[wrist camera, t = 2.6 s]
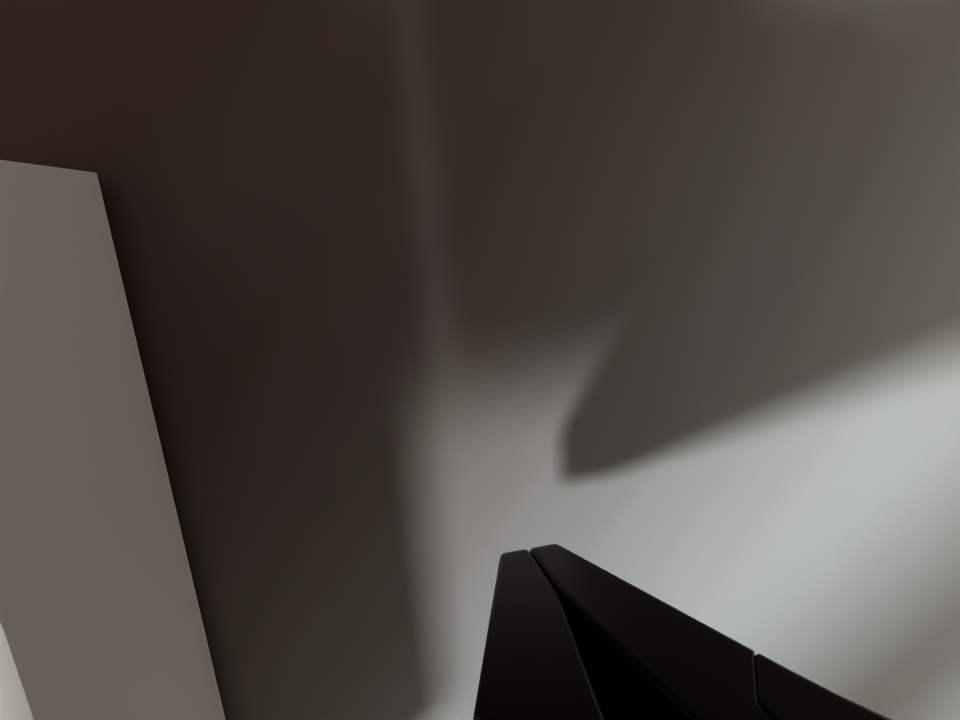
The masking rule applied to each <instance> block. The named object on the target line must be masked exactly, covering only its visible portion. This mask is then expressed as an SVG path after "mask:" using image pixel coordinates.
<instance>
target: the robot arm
mask: <svg viewBox="0 0 960 720" xmlns="http://www.w3.org/2000/svg"><path fill="white" fill-rule="evenodd" d="M473 719H474V720H891V719H888V718H886V717H884V716H882V715H880V714H878V713H876V712H874V711H872V710H869V709H867V708H865V707H863V706H861V705H859V704H857V703H855V702H852V701H850V700H848V699H846V698H844V697H842V696H840V695H838V694H836V693H833V692H831V691H829V690H828V689H826V688H824V687H822V686H820V685H818V684H816V683H814V682H812V681H810V680H808V679H806V678H804V677H802V676H800V675H798V674H797V673H795V672H793V671H791V670H789V669H787V668H785V667H783V666H781V665H780V664H778V663H776V662H774V661H772V660H770V659H768V658H767V657H765V656H763V655H761V654H756V656H755V653H754V651H753V650H751V649H750V648H748V647H746V646H744V645H742V644H740V643H739V642H737V641H735V640H733V639H731V638H729V637H727V636H726V635H724V634H722V633H720V632H718V631H716V630H715V629H713V628H711V627H709V626H707V625H705V624H703V623H702V622H700V621H698V620H696V619H694V618H692V617H691V616H689V615H687V614H685V613H683V612H681V611H679V610H678V609H676V608H674V607H672V606H670V605H668V604H667V603H665V602H663V601H661V600H659V599H657V598H655V597H654V596H652V595H650V594H648V593H646V592H644V591H643V590H641V589H639V588H637V587H635V586H633V585H632V584H630V583H628V582H626V581H624V580H622V579H620V578H619V577H617V576H615V575H613V574H611V573H609V572H608V571H606V570H604V569H602V568H600V567H598V566H596V565H595V564H593V563H591V562H589V561H587V560H585V559H584V558H582V557H580V556H578V555H576V554H574V553H572V552H571V551H569V550H567V549H565V548H563V547H561V546H559V545H557V544H551V545H546V546H540V547H535V548H532V549H531V550H530V552H529V551H528V550H519V551H513V552H508V553H503V554H502V555H501V557H500V561H499V567H498V573H497V579H496V585H495V591H494V597H493V603H492V609H491V615H490V621H489V627H488V633H487V639H486V645H485V651H484V657H483V663H482V669H481V675H480V681H479V687H478V693H477V699H476V705H475V711H474V717H473Z"/></svg>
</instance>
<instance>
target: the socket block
mask: <svg viewBox="0 0 960 720" xmlns="http://www.w3.org/2000/svg"><path fill="white" fill-rule="evenodd" d="M0 720H226V719H225V715H224V711H223V707H222V702H221V698H220V694H219V690H218V685H217V681H216V677H215V673H214V668H213V664H212V660H211V656H210V651H209V647H208V643H207V639H206V634H205V630H204V626H203V622H202V617H201V613H200V609H199V605H198V600H197V596H196V592H195V588H194V583H193V579H192V575H191V571H190V566H189V562H188V558H187V554H186V549H185V545H184V541H183V537H182V532H181V528H180V524H179V520H178V516H177V511H176V507H175V503H174V499H173V494H172V490H171V486H170V482H169V477H168V473H167V469H166V465H165V460H164V456H163V452H162V448H161V443H160V439H159V435H158V431H157V426H156V422H155V418H154V414H153V409H152V405H151V401H150V397H149V392H148V388H147V384H146V380H145V375H144V371H143V367H142V363H141V358H140V354H139V350H138V346H137V341H136V337H135V333H134V329H133V324H132V320H131V316H130V312H129V307H128V303H127V299H126V295H125V290H124V286H123V282H122V278H121V273H120V269H119V265H118V261H117V257H116V252H115V248H114V244H113V240H112V235H111V231H110V227H109V223H108V218H107V214H106V210H105V206H104V201H103V197H102V193H101V189H100V184H99V180H98V176H97V173H95V172H87V171H80V170H73V169H65V168H58V167H50V166H43V165H35V164H28V163H20V162H13V161H5V160H0Z"/></svg>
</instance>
